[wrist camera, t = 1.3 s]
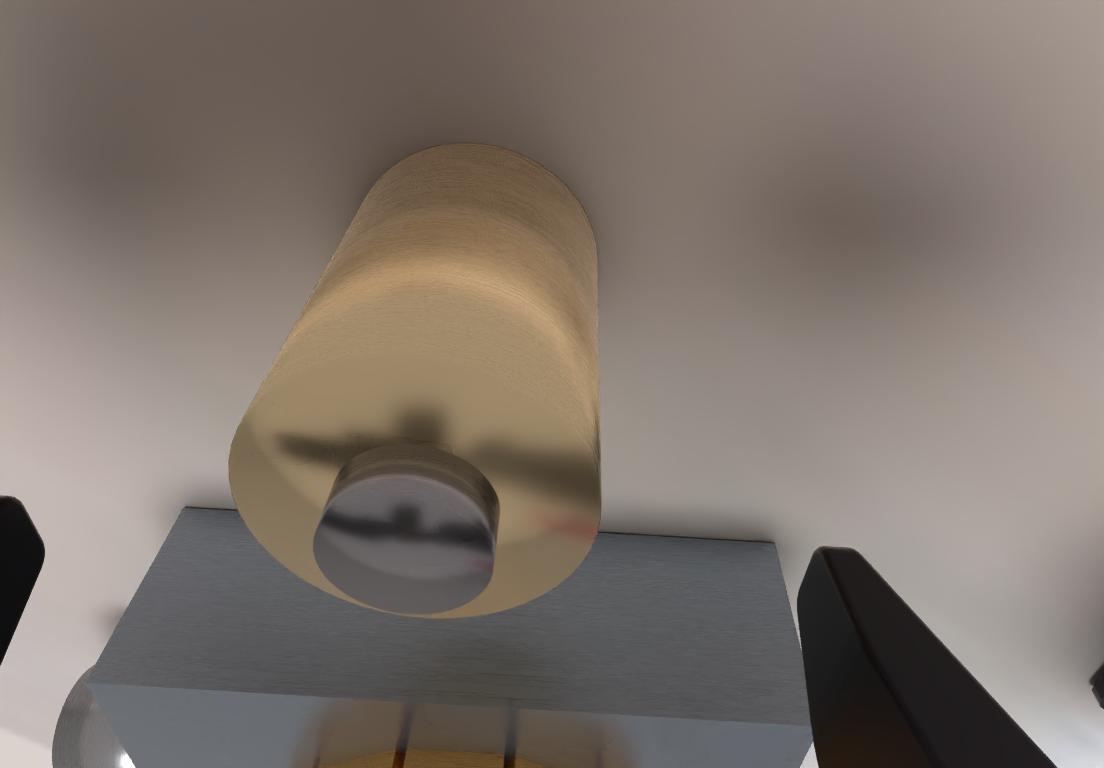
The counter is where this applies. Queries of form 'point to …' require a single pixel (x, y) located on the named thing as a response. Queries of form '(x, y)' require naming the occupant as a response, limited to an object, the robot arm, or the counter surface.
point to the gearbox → (446, 667)
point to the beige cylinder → (437, 396)
